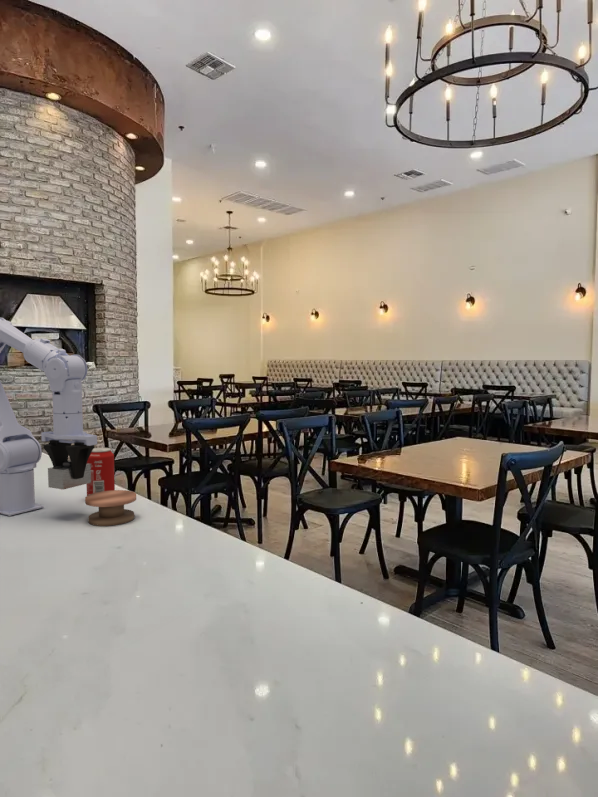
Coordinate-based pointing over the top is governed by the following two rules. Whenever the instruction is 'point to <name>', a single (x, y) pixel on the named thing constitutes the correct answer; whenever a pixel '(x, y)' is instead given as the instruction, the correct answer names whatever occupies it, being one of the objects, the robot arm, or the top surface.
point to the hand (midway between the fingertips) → (69, 477)
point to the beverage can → (101, 471)
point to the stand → (110, 507)
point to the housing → (66, 476)
